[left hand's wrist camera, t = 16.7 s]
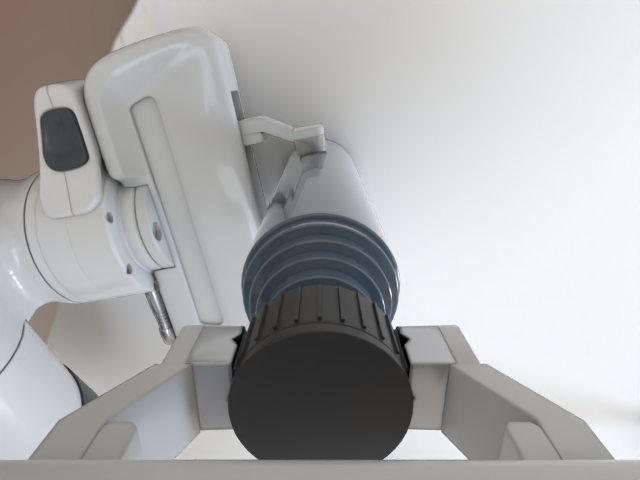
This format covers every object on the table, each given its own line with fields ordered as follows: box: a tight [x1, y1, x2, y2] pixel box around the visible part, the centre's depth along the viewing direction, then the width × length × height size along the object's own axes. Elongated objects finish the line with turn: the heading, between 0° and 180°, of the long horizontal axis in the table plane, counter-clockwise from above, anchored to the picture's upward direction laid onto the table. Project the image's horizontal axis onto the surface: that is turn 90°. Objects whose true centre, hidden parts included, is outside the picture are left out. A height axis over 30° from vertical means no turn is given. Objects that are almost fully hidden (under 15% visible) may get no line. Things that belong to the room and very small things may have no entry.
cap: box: [228, 284, 414, 460], centre depth 9 cm, size 4×4×2 cm
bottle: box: [241, 140, 400, 322], centre depth 20 cm, size 5×5×23 cm
